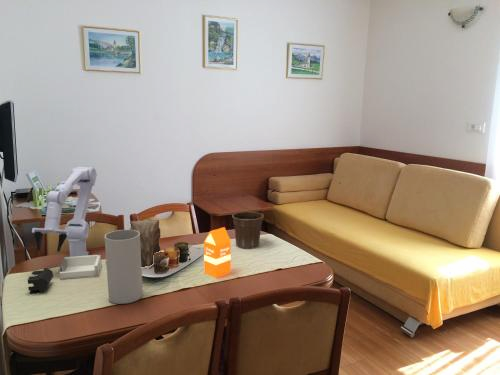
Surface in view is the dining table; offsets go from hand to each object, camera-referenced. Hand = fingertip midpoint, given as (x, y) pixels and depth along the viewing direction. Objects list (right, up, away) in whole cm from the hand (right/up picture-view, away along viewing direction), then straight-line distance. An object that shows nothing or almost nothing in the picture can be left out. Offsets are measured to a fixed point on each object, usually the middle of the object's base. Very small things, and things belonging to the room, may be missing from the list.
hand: (48, 251), depth 175 cm
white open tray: (+11, -10, +7) cm, 17 cm away
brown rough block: (+36, -9, +17) cm, 41 cm away
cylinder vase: (+37, -16, -15) cm, 43 cm away
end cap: (+1, -14, -9) cm, 16 cm away
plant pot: (+83, -4, +43) cm, 94 cm away
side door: (+4, -9, +5) cm, 11 cm away
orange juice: (+70, -11, +8) cm, 72 cm away
